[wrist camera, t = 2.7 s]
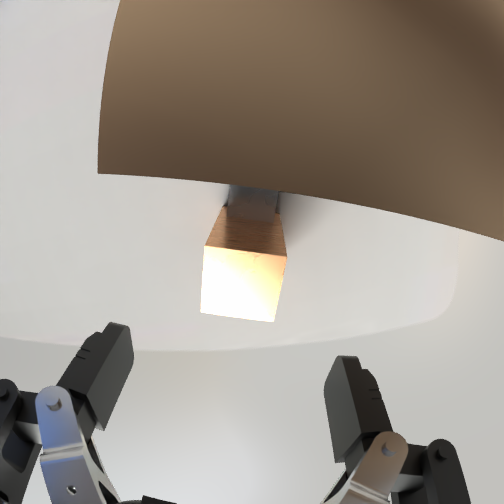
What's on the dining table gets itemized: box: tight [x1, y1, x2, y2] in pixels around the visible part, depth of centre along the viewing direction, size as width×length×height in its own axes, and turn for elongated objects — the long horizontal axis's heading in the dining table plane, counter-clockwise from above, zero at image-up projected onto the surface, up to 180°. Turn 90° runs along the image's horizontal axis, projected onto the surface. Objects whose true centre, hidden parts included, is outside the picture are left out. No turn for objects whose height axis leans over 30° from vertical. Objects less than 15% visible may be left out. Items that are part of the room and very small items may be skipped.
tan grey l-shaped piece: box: [201, 184, 287, 322], centre depth 16 cm, size 14×4×7 cm, turn 172°
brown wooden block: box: [98, 0, 504, 241], centre depth 10 cm, size 11×15×14 cm
